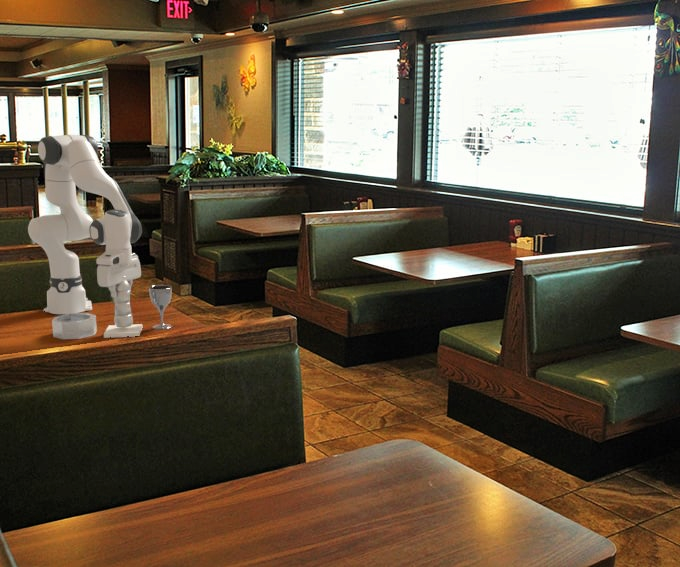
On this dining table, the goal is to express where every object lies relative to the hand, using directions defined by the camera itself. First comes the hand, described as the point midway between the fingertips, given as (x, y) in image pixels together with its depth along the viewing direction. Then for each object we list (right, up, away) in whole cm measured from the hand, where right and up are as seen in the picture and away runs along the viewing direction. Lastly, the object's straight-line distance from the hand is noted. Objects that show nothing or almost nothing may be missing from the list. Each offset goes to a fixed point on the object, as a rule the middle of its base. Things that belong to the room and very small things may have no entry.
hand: (121, 294), depth 281 cm
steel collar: (-17, -14, +1) cm, 22 cm away
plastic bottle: (0, -12, +3) cm, 12 cm away
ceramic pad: (0, -14, +3) cm, 14 cm away
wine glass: (+12, -12, +11) cm, 21 cm away
